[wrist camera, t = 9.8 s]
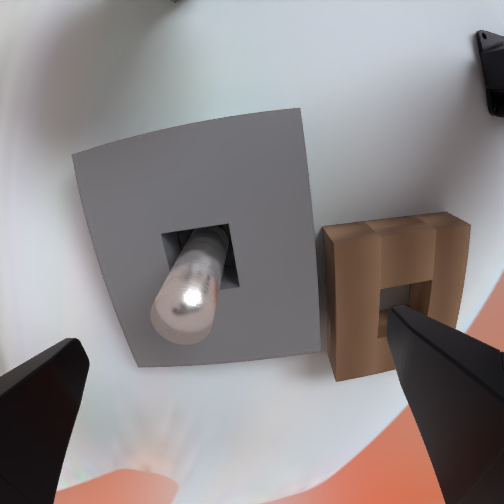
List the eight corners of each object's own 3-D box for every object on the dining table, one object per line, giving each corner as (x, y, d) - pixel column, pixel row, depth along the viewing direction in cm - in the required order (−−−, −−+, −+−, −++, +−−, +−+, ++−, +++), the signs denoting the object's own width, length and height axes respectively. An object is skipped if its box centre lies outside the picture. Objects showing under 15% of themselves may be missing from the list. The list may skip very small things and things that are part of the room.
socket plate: (292, 111, 17) (300, 107, 14) (313, 324, 22) (320, 351, 19) (96, 150, 17) (71, 154, 15) (149, 341, 22) (138, 367, 20)
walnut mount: (446, 211, 19) (470, 224, 16) (432, 332, 22) (448, 354, 19) (322, 226, 19) (333, 243, 16) (327, 354, 23) (335, 381, 20)
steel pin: (224, 221, 19) (205, 287, 11) (231, 258, 20) (218, 342, 12) (186, 227, 19) (142, 294, 11) (193, 263, 20) (160, 346, 12)
